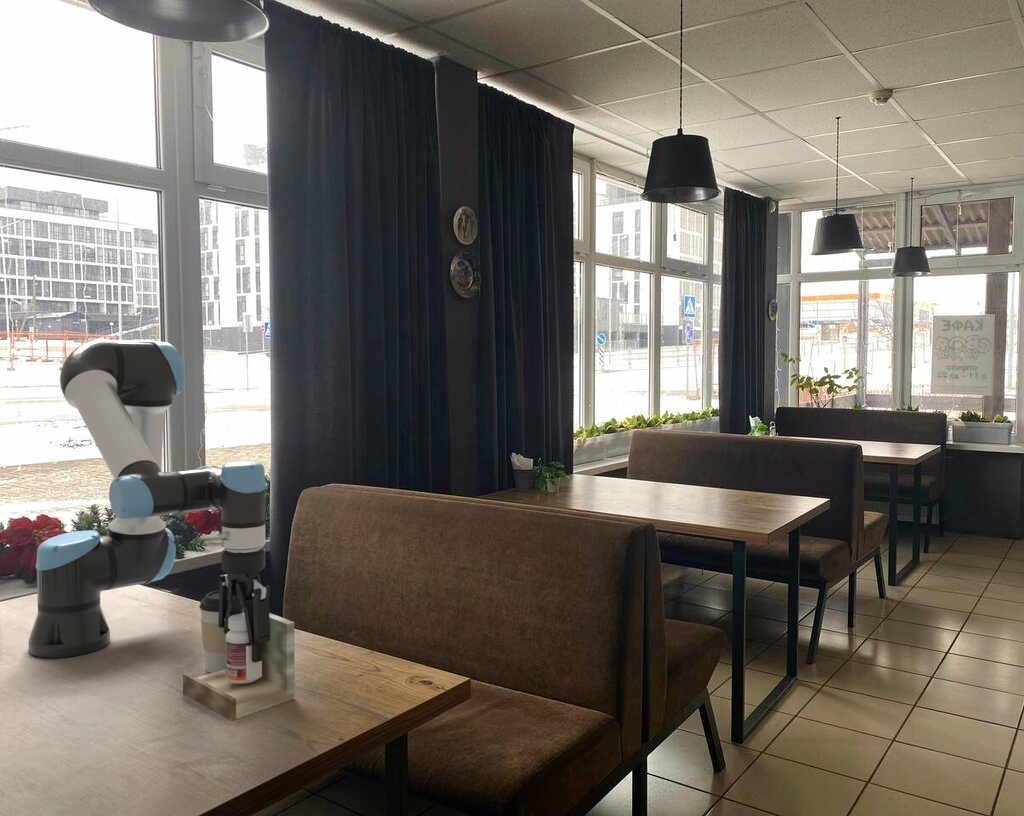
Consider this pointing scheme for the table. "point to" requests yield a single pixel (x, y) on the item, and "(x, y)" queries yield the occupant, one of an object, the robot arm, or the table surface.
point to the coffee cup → (212, 633)
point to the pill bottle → (236, 649)
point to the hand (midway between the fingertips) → (243, 672)
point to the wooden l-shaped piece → (258, 693)
